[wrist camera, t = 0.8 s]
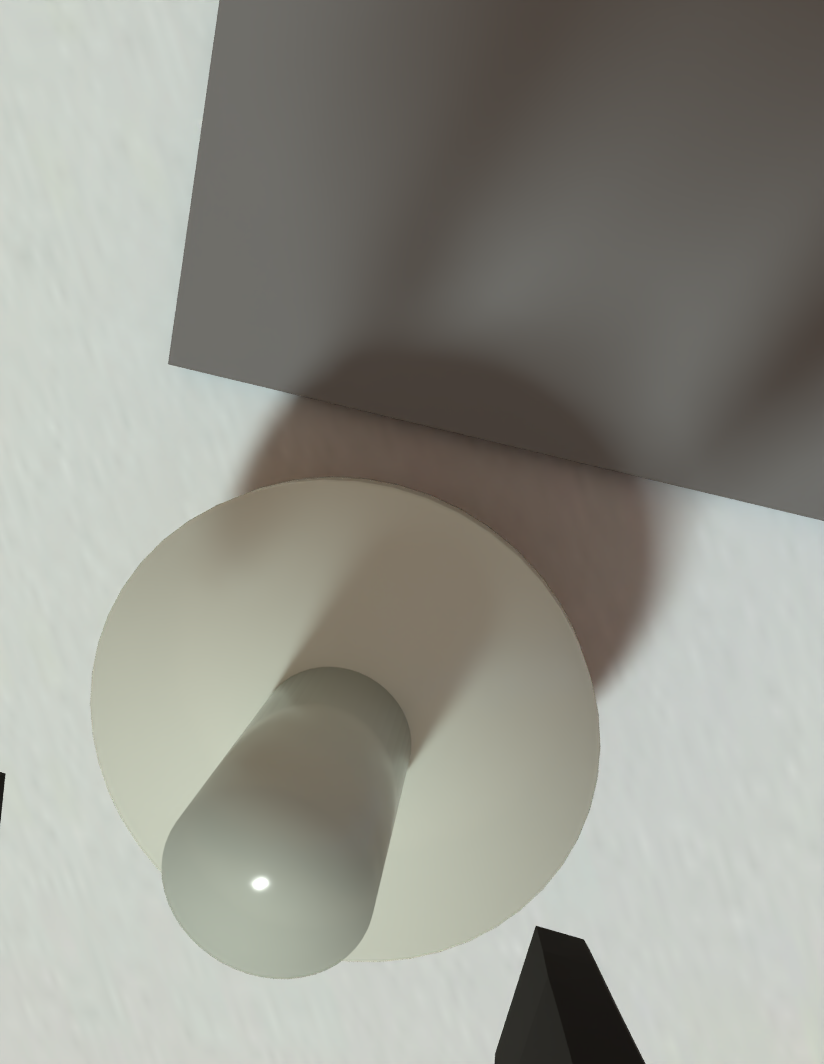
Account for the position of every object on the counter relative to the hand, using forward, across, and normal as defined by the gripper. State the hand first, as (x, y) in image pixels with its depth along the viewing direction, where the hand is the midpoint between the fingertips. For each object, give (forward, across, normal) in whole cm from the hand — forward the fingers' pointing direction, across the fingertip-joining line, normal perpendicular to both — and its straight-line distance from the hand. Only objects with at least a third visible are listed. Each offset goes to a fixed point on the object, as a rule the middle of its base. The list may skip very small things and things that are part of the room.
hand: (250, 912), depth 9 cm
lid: (+5, 0, 0) cm, 5 cm away
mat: (+8, -3, -12) cm, 15 cm away
